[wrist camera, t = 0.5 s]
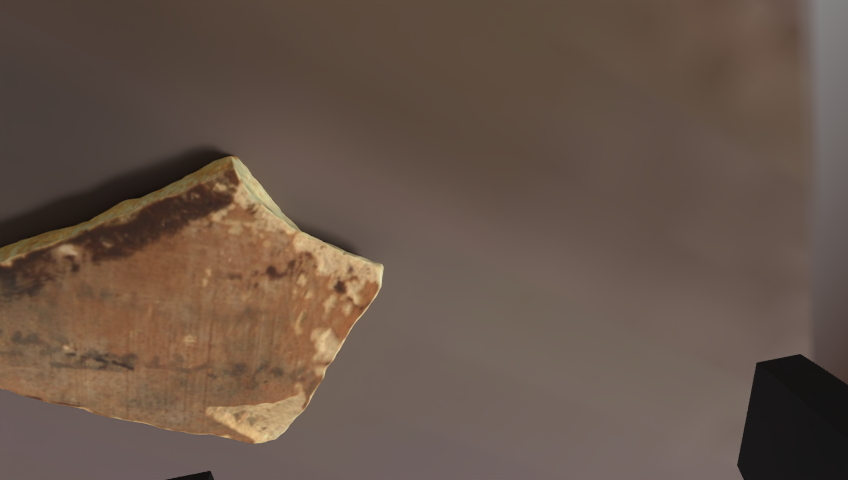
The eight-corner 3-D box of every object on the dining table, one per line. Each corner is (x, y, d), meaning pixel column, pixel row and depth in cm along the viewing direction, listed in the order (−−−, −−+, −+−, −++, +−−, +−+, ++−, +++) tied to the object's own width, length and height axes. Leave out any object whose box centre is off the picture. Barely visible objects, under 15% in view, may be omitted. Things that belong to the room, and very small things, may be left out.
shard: (-165, 303, 18) (-206, 355, 16) (-101, 6, 14) (-144, 37, 13) (275, 416, 22) (274, 466, 20) (400, 205, 19) (411, 245, 17)
